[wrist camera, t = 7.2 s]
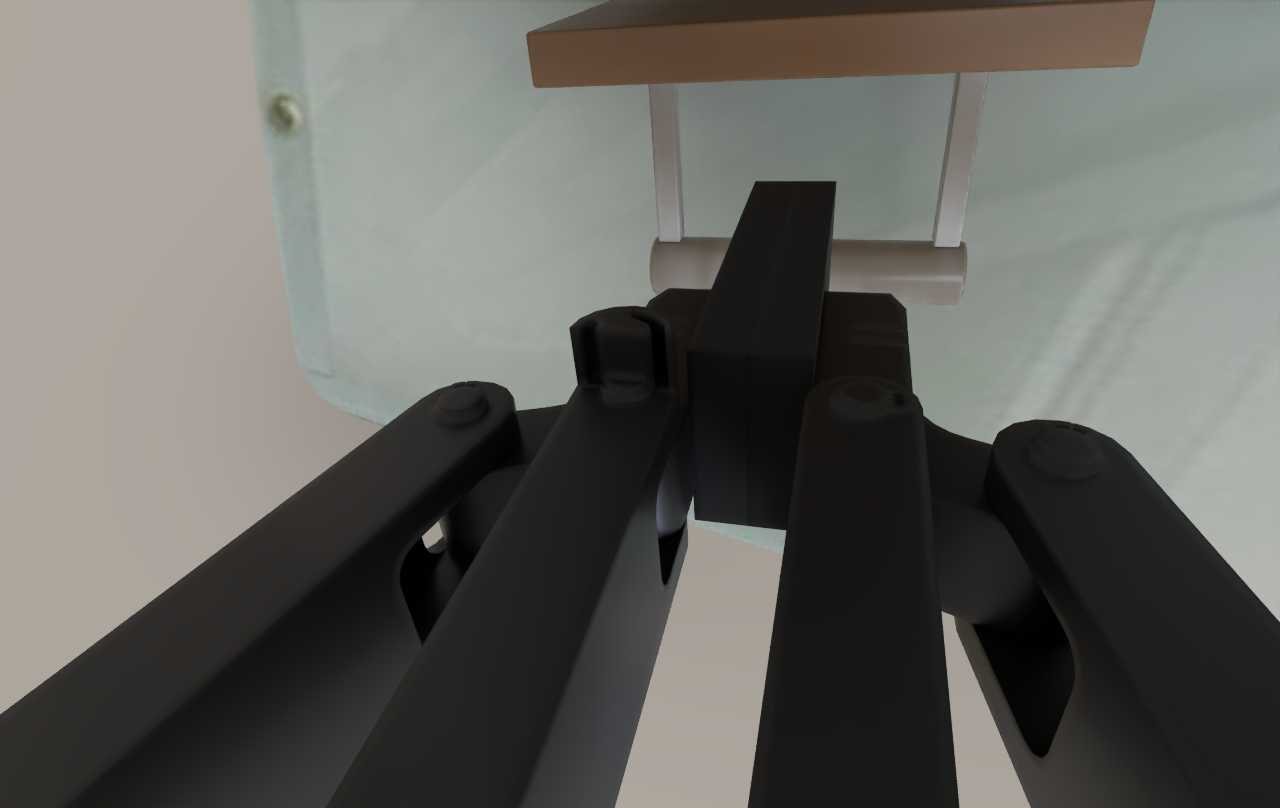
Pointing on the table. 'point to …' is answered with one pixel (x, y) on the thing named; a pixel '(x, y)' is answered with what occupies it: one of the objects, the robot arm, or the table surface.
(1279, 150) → the table surface
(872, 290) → the drawer
